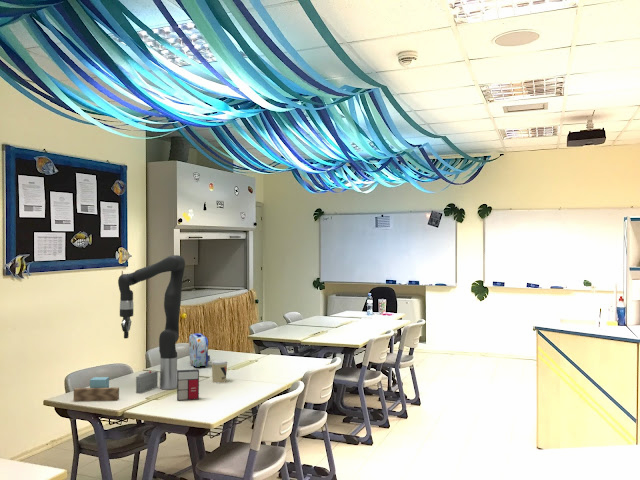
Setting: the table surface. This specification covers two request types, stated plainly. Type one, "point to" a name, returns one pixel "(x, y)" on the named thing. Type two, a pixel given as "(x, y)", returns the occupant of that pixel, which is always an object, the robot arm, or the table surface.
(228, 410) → the table surface
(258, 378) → the table surface
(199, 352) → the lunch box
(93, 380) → the sliding block
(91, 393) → the wall
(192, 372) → the gray and red box
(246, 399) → the table surface
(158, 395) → the table surface
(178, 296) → the robot arm
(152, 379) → the cassette player
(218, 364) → the coffee cup
